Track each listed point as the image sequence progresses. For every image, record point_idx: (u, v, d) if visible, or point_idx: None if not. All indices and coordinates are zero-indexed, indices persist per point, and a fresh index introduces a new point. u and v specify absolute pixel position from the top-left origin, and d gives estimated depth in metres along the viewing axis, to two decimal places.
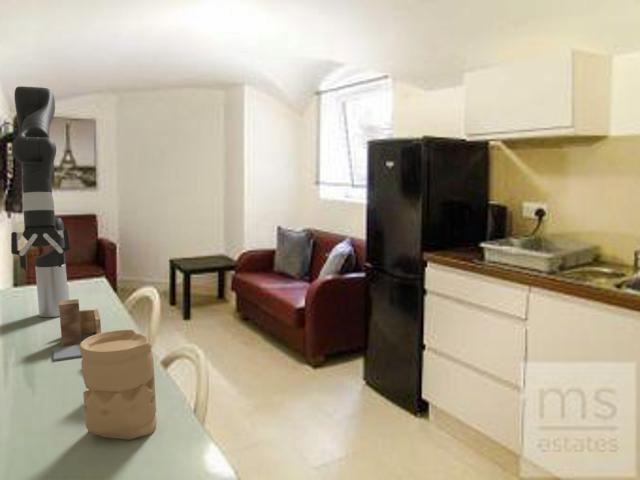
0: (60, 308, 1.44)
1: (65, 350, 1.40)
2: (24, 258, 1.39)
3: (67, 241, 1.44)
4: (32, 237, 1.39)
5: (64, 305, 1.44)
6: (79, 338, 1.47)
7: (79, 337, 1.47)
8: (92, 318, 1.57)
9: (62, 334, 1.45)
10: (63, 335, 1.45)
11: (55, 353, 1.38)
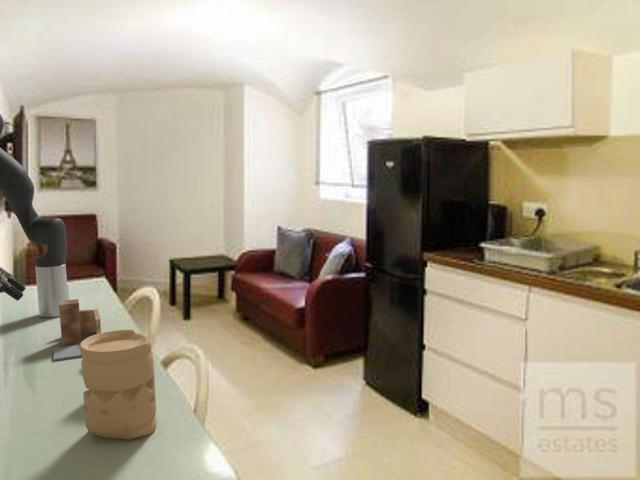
0: (60, 308, 1.44)
1: (65, 350, 1.40)
2: None
3: None
4: None
5: (64, 305, 1.44)
6: (79, 338, 1.47)
7: (79, 337, 1.47)
8: (92, 318, 1.57)
9: (62, 334, 1.45)
10: (63, 335, 1.45)
11: (55, 353, 1.38)
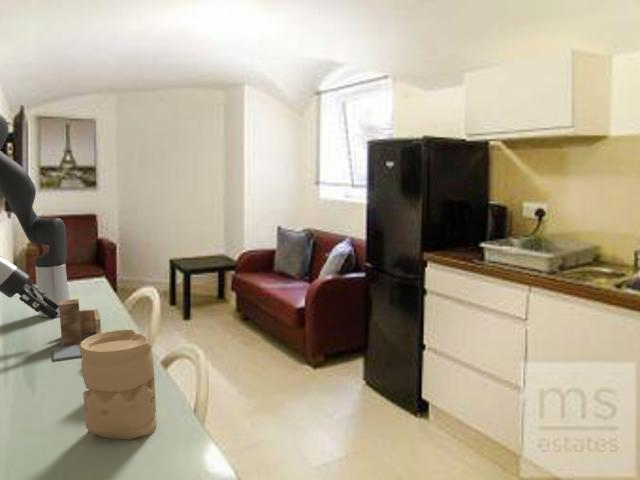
0: (60, 308, 1.44)
1: (65, 350, 1.40)
2: None
3: None
4: None
5: (64, 305, 1.44)
6: (79, 338, 1.47)
7: (79, 337, 1.47)
8: (92, 318, 1.57)
9: (62, 334, 1.45)
10: (63, 335, 1.45)
11: (55, 353, 1.38)
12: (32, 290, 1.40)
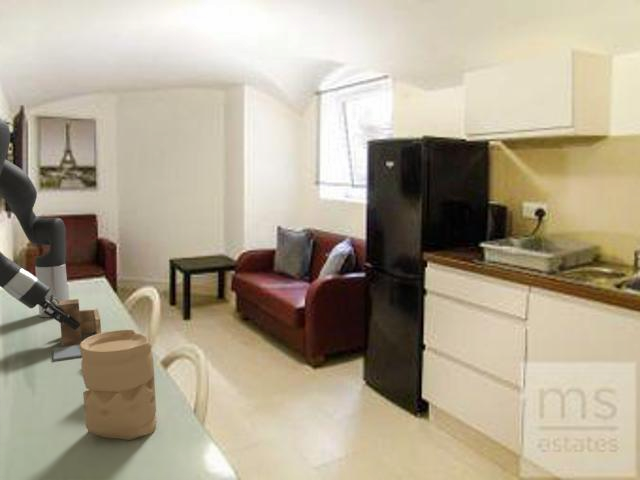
0: None
1: (65, 350, 1.40)
2: None
3: None
4: None
5: (64, 305, 1.44)
6: (79, 338, 1.47)
7: (79, 337, 1.47)
8: (92, 318, 1.57)
9: (62, 334, 1.45)
10: (63, 335, 1.45)
11: (55, 353, 1.38)
12: (53, 301, 1.43)
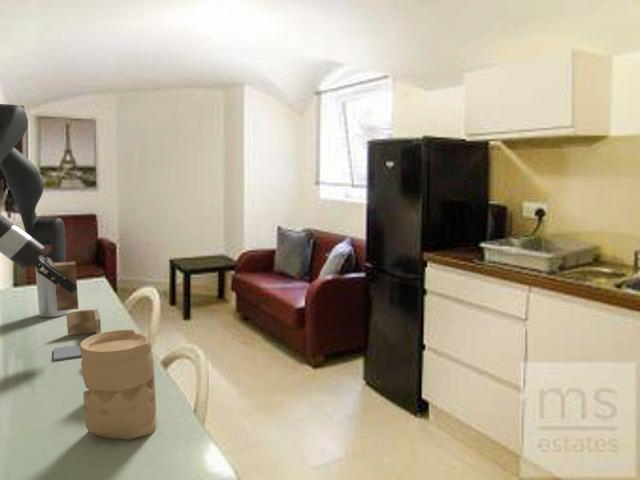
0: None
1: (65, 350, 1.40)
2: None
3: None
4: None
5: (59, 266, 1.34)
6: (76, 303, 1.36)
7: (76, 301, 1.36)
8: (92, 318, 1.57)
9: (57, 297, 1.34)
10: (58, 298, 1.34)
11: (55, 353, 1.38)
12: (48, 262, 1.33)
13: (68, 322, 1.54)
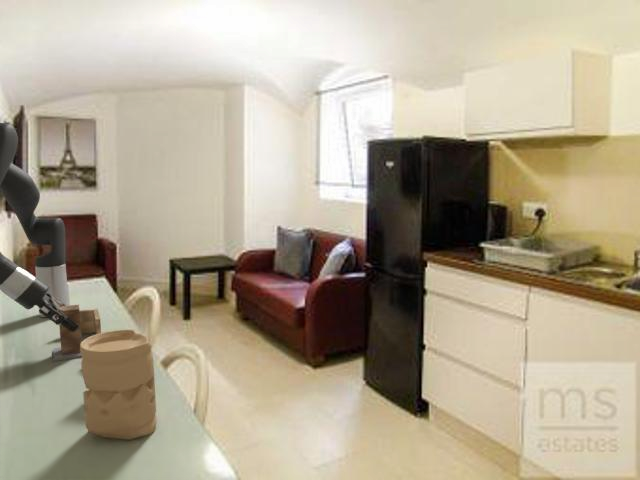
0: None
1: None
2: None
3: None
4: None
5: (64, 311, 1.35)
6: None
7: None
8: (92, 318, 1.57)
9: (61, 342, 1.36)
10: (62, 343, 1.36)
11: (55, 353, 1.38)
12: (51, 302, 1.34)
13: None
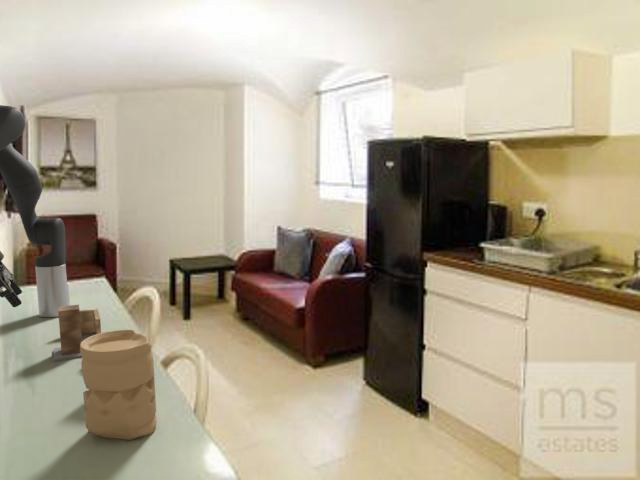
0: (59, 314, 1.35)
1: None
2: None
3: None
4: None
5: (64, 311, 1.35)
6: None
7: None
8: (92, 318, 1.57)
9: (61, 342, 1.36)
10: (62, 343, 1.36)
11: (55, 353, 1.38)
12: (2, 272, 1.31)
13: None
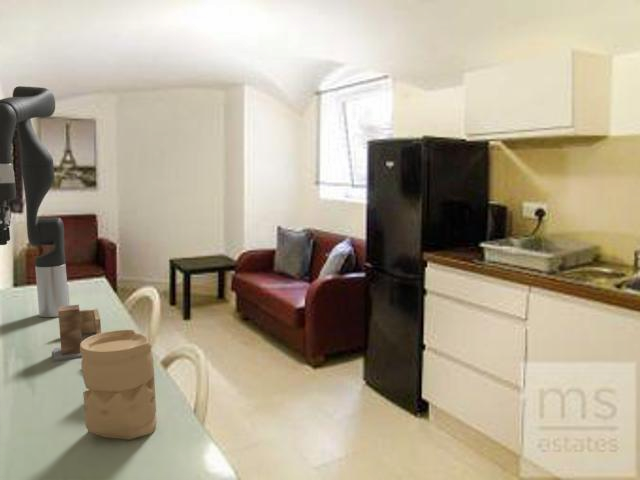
0: (59, 314, 1.35)
1: None
2: None
3: None
4: None
5: (64, 311, 1.35)
6: None
7: None
8: (92, 318, 1.57)
9: (61, 342, 1.36)
10: (62, 343, 1.36)
11: (55, 353, 1.38)
12: (6, 209, 1.35)
13: None
